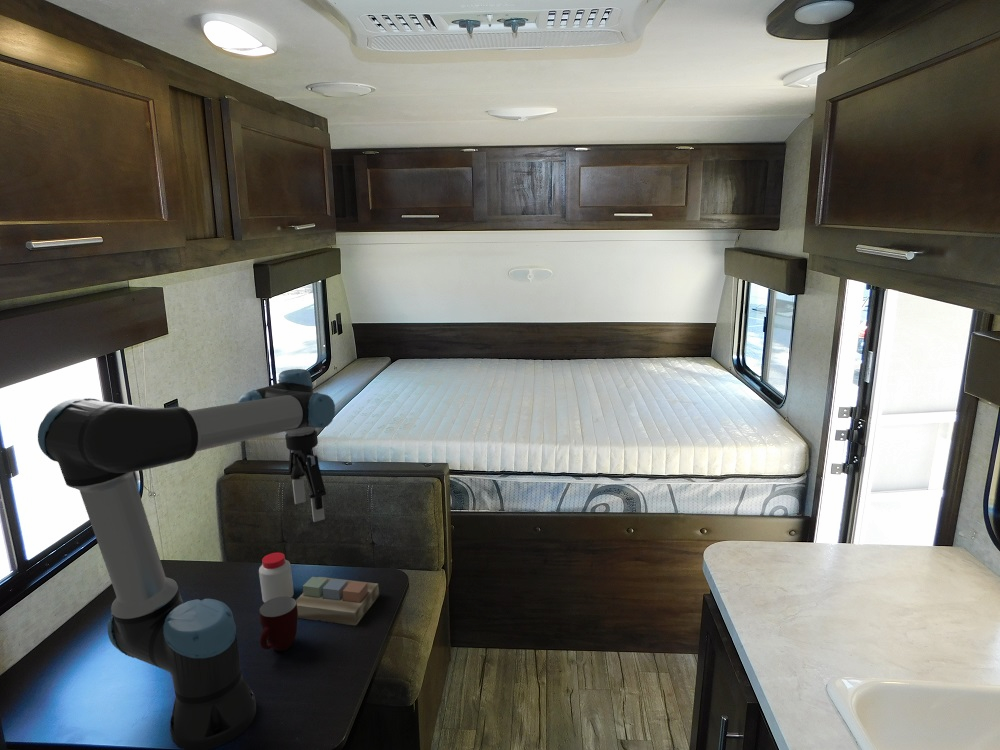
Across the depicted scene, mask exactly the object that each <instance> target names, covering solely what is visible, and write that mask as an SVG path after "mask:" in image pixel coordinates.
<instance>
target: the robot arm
mask: <svg viewBox="0 0 1000 750" xmlns="http://www.w3.org/2000/svg"><path fill="white" fill-rule="evenodd" d="M311 375H312V374H311V373H310V371H309V370H307V369H305V368H294V369H293V368H291V369H286V370H283V371H281V372H279V373H278V380H277V381H278V382H277V383H275V384H271V385H268V386H265V387H260V388H258V389H251V390H250V391H249V392H245V393H243V394H242V395H240V397H239V399H237V400H238V401H237V402H235V403H228V404H221V405H216V406H209V407H204V408H197V409H191V410H188V409H187V408H185V407H182V406H174V407H173V406H172V407H163V408H162V407H160V408H159V407H147V406H139V405H133V404H127V403H126V404H125V403H116V402H111V401H102V400H100V399H96V398H91V397H90V398H88V397H87V398H73V399H68V400H65V401H63V402H61V403H58V404H57V405H55V406H54V407H53V408H52V409H50V410H49V411H48V412H47V413H46V414H45V416H44V418H43V420H42V421H41V423H40V424H39V426H38V430H37V443H38V446H39V448H40V450H41V452H42V453H43V454H44V455H45V456H46V457H47V458H49V459H50V460H51V461H53V462H57V463H58V466H59V468H60V471H61V474H62V477H63V479H64V481H65V485H66V486H68V487H70V488H72V489H76V490H79V493H80V497H81V498H82V502H83V505H84V507H85V510H86V513H87V515H88V516H87V517H88V519H89V521H90V524H91V527H92V530H93V533H94V536H95V539H96V541H97V542H96V543H97V544H98V548H99V550H100V554H101V557H102V559H103V562H104V563H105V564H104V565H105V567H106V571H107V573H108V576H109V579H110V582H111V585H112V587H113V590H114V593H115V596H116V597H115V598H114V600H113V602H112V604H111V607H110V611H111V612H110V616H111V617H110V619H108V621H107V635H108V636H107V637H108V638H109V640H110V643H111V644H112V646H113V647H114V648H116V650H118V651H119V652H121V653H122V654H124V655H125V656H127V657H130V658H133V659H137V660H139V661H142V662H144V663H147V664H149V665H151V666H154V667H156V668H159V669H161V670H164V671H167V672H168V673H170V675H171V677H172V678H171V679H172V684H173V689H174V695H175V698H174V703H173V707H172V713H171V717H170V721H169V729H170V735H171V736H170V737H171V739H172V742H173V743H175V744H176V745H177V746H176V745H175V744H174V745H175V746H176V747H177V748H179V747H180V749H182V750H212V749H215V748H219V747H221V746H223V745H226V744H228V743H229V742H231V741H233V740H235V739H236V738H237V737H238V736H240V735H241V734H242V733H243V732H244V731H246V730H247V729H248V728H249V726H250V725H251V723H253V720H254V719H255V717H256V713H257V703H256V697H255V694H254V692H253V690H252V689H251V687H250V686H249V683H247V681H246V678H245V677H244V675H243V673H242V668H241V660H240V652H239V645H238V644H239V643H238V637H237V625H236V623H235V619H234V616H233V612H232V610H231V608H230V607H229V606H228V605H227V604H226V603H225V602H223V601H220V600H218V599H213V598H204V599H202V600H200V599H199V598H198V599H197V598H196V599H193V600H192V599H191V600H189V601H186V602H184V601H183V599H182V596H181V592H180V589H179V585H178V584H177V582H176V581H175V580H174V579H173V578H169V577H166V574H165V571H164V567H163V565H162V561H161V558H160V555H159V552H158V549H157V545H156V542H155V539H154V536H153V533H152V530H151V527H150V523H149V521H148V517H147V514H146V511H145V507H144V504H143V500H142V498H141V497H142V496H141V494H140V491H139V488H138V484H137V481H136V478H135V475H134V472H139V471H145V470H150V469H153V468H159V467H162V466H166V465H170V464H175V463H177V462H178V463H179V462H182V461H187V460H189V459H192V458H193V457H194V456H195V455H196V453H197V452H200V451H206V450H209V449H214V448H218V447H223V446H227V445H231V444H235V443H240V442H244V441H248V440H253V439H257V438H262V437H267V436H271V435H275V434H279V433H283V432H284V433H285V436H284V437H285V444H286V449H288V450H289V456H288V457H289V459H288V471H287V472H288V475H289V476H290V477H291V480H292V481H291V482H292V490H293V499H294V504H295V505H298V504H301V503H306V501H307V499H306V491H305V490H306V489H305V480H304V478H303V477H305V479H306V481H307V484H308V488H309V490H310V495H309V499H310V503H311V512H312V513H311V514H312V521H313V522H314V523H316V522H319V521H323V520H325V519H326V516H325V506H324V498H323V497H324V496H326V494H327V492H326V488H325V485H324V481H323V477H322V472H321V468H320V465H319V457H318V455H317V454H316V455H314V453H313V452H312V449H314V448H315V447H317V446H318V444H319V441H318V432H317V430H316V428H317V429H323V428H326V427H328V426H329V425H330V424H331V423H332V422H333V420H334V419H335V414H336V405H335V401H334V400H333V398H332V396H330V395H328V394H324V393H319V392H314V389H313V387H314V385H313V381H312V376H311Z"/></svg>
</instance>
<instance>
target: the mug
mask: <svg viewBox="0 0 1000 750" xmlns="http://www.w3.org/2000/svg"><path fill="white" fill-rule="evenodd" d="M296 600H297V599H296V598H293V597H292V598H291V597H277V598H273V599H271V600H269V601H267V602H265V603H264V602H263V604H261V605H260V606H259V609H258V612H259V620H260V624H261V628H262V631H261V633H260V634H261V635H260V639H259V642H260V646H261V648H262V649H264V650H270V649H274V650H275V651H278V652H282V651H285V650H287V649H289V648H290V647H292V645H293V643H294V640H295V638H296V635H297V631H298V630H297V629H298V628H297V627H298V610H297V603H296Z"/></svg>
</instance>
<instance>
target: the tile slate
mask: <svg viewBox="0 0 1000 750" xmlns="http://www.w3.org/2000/svg"><path fill="white" fill-rule="evenodd" d="M336 579H337V578H334V579H331V580H330V581H329V582H328V583H327V584H326V585H325V586H324V587H323V597H324V599H331V600H339V601H340V600H341V599H342V598H343V590H344V589H345V588H346V586H347V581H345V580H346V579H343V580H336Z"/></svg>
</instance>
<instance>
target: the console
mask: <svg viewBox="0 0 1000 750" xmlns="http://www.w3.org/2000/svg"><path fill="white" fill-rule="evenodd" d="M318 577H319V578H327V579H328V582H329V581H330V580H331V579H336V580H345V581H347V585H348V584H349V583H350V582H351V581H353V582H362V583H367V588H368V594H367V596H366V597H365V598H364V599H363V601H362V602H361V603H355V602H347V601H344V599H343V598H342V599H341V600H340V601H339V600H331V599H324V597H323V595H322V597H321V598H315V597H307V596H304V593H303V592H302V594H300V595H299V596H298V597H297V598H296V599H295V600H296V603H297V610H298V618H299V619H306V620H312V621H318V620H321V621H320V622H326V621H327V622H328V623H333V622H334V623H335V624H342V625H349V626H357V625H358V624H359V623H360V621H361V620H362V619H363V617H364V616H365V614H367V612H368V611H369V609H370V608H371V607H372V605H373V604H374V603H375V602H376V600H377V599H378V598H379V597H380V589H379V583H374V582H368V581H358V580H350V579H342V578H341V579H340V578H331V577H325V576H324V577H323V576H318ZM298 618H297V619H298Z"/></svg>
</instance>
